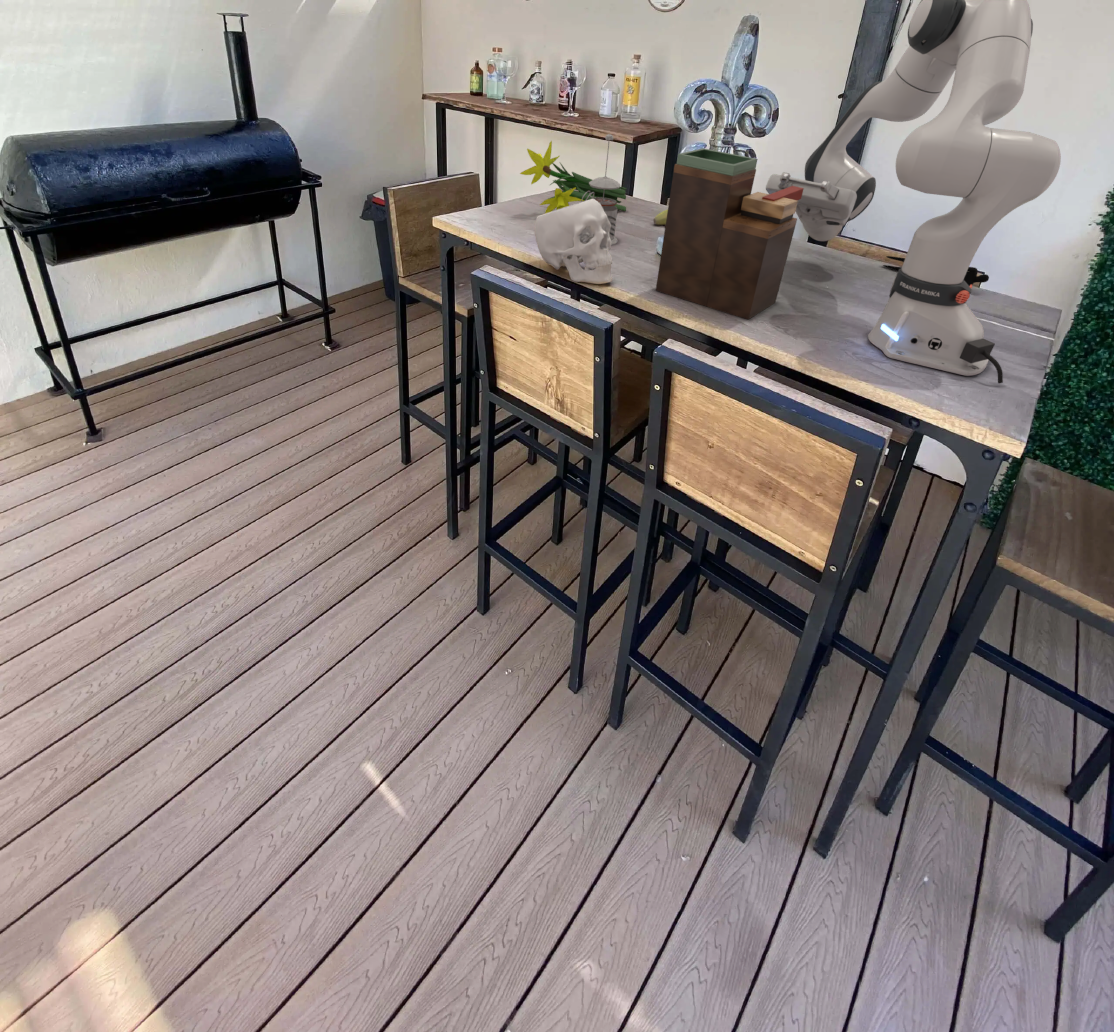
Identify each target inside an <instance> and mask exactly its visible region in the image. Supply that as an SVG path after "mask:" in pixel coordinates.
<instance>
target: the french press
mask: <svg viewBox="0 0 1114 1032" xmlns="http://www.w3.org/2000/svg"><path fill="white" fill-rule="evenodd" d="M605 140H606V141H608V143H607V155H606V163H605V175H604V176H598V177H596V178H593V179H592V181H590V182H589V185H590V186H591V187H593V188H597V189H604V191H605V189H607V190H610V189H618V188H620V187H622V186H621V184H620V182H618V181H617V180H615V179H613V178H612V177H608V176H607V169H608V159H609V149H610V141H613V140H614V136H613V134H610V133H608V134H606V135H605ZM587 192H590V191H587ZM587 192H586V193H587ZM586 193H585V194H586ZM592 193H594V192H592ZM592 193H591V192H590V194H589V195H588V197H589V196H590V197H592V196H591V194H592ZM585 194H584V195H583V197H584V196H585ZM583 197H582V200H583ZM588 197H587V199H588ZM593 197H594V194H593ZM593 197H592V198H591V199H595V200H596V201H598V202H599V203H600V204H601V206H602V208H603V210H604V212H605V213H606V215H607V217H608V220H609V222H610V224H611V228H610V232H609V236H610V239H611V246H614V245H616V244H617V243H618V239H617V237H616V236H615V234H616V227H617V226H616V224H617V218H618V217H617V216H618V210H617V207H615V206H613V205H616V204H618V203H617V201H616V200H613V199H608V198H604V193H603V197H600V198H599V197H595V198H593ZM587 199H586V200H585V201H587ZM582 200H581V201H580V202H582Z"/></svg>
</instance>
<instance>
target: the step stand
mask: <svg viewBox="0 0 1114 1032" xmlns="http://www.w3.org/2000/svg"><path fill="white" fill-rule="evenodd" d="M756 172H757V168H756V169H754V170H751V171H748V172H744V173H741V174H738V175H734V176H730V175H725V174H720V173H716V172H711V171H706V170H701V169H697V168H692V167H687V166H683V165H678V164H677V163H675V164H674V166H673V174H672V181H671V187H670V192H669V193H670V194H669V200H668V206H667V209H668V212H667V219H666V225H664V226H665V227H664V232H663V240H662V246H661V252H660V259H659V264H658V265H659V266H658V272H657V277H656V278H657V279H656V284H655V285H656V286H655V291H656V292H659V293H662V294H665V295H668V296H671V297H675V298H678V299H682V300H685V301H688V302H691V303H694V304H698V305H701V306H703V307H707V308H710V309H713V310H715V311H719V312H722V313H726V314H729V315H732V316H736V317H739V318H742V319H745V320H749V321H750V319H752V318H753V317H755V316H757V315H758V314H760V313H762V312H763V311H765V310H766V309H768V308H769V307H771V306H773V305H774V304H776V301H777V298H778V294H779V290H780V287H781V282H782V279H783V276H784V271H785V267H786V263H787V260H788V256H789V252H790V249H791V244H792V241H793V237H794V234H795V229H796V225H797V221H798V217H797V218H796V217H793V218H792V219H790V220H788V221H785V222H783V223H781V224H776V223H772V222H768V221H764V220H760V219H755V218H751V217H747V216H743V215H741V211H742V210H741V206H742V201H743V197H745V196H748V195H750V194H752V190H753V186H754V181H755V177H756Z"/></svg>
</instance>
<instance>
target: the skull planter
mask: <svg viewBox="0 0 1114 1032" xmlns="http://www.w3.org/2000/svg"><path fill="white" fill-rule="evenodd" d="M610 228H611V224H610V222H609V220H608V217H607V215H606V213H605V212H604V210H603V208H602V206H601V204H600V203H599V202H598V201H596V200H595V199H590V200H587V201H583V202H581V201H579V202H577V203H574V204H571V205H570V204H569V206H567V207H564V208H561V209H558V210H557V209H554V210H553V211H551V212H549V213H546V214H545V213H543V214H540V215H538V216H537V217H536V219H535V221H534V230H533V231H534V237H535V242H536V245H537V249H538V251H539V254H540V257H541V259H542V260H543V261H544V262H545V263H546V264H547V265H550V266H551V267H553V268H554V270H556V271H557V270H560V269H561V267H565V268H566V269H567V271H568V275H569V278H570V280H571V281H572V282H575V283H580V282H581V283H588V284H595V285H601V284H608V283H611V282H613V275H612V274H613V273H612V265H613V257H612V255H611V253H610V252H609V251H610V250H611V248H612V245H611V239H610V236H609V232H610ZM580 263H584V264H585V266H584V268H582V266H581V265H580Z"/></svg>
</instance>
